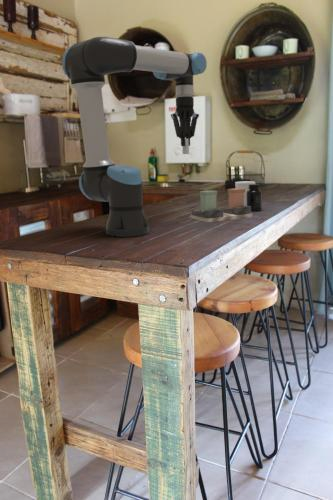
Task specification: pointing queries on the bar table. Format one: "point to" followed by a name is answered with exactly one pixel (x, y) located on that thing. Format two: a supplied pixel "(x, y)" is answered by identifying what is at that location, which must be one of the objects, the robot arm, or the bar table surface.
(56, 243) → the bar table surface
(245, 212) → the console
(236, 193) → the terracotta rectangular container
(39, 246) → the bar table surface
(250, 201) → the supplement bottle
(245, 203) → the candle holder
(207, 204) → the green container
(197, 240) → the bar table surface
